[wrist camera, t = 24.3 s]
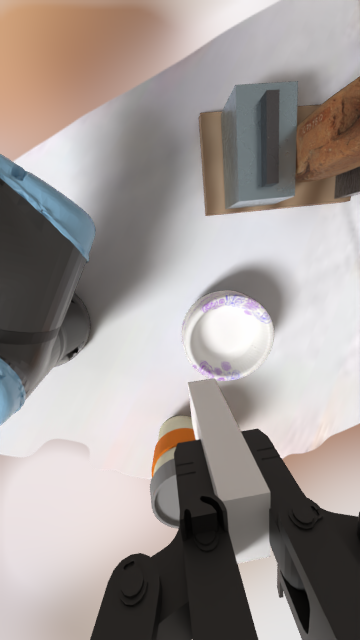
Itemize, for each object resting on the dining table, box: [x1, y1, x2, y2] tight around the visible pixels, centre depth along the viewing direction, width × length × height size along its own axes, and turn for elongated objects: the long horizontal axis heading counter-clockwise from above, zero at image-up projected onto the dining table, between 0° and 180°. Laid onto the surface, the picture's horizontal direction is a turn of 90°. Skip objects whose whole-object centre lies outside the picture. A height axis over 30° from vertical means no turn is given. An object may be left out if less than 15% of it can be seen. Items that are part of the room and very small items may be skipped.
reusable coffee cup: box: [150, 415, 196, 529], centre depth 46 cm, size 13×13×15 cm
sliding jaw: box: [221, 81, 298, 209], centre depth 34 cm, size 8×13×8 cm, turn 6°
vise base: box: [199, 105, 360, 216], centre depth 36 cm, size 25×14×8 cm, turn 96°
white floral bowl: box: [181, 290, 274, 381], centre depth 43 cm, size 15×15×8 cm
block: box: [295, 77, 360, 183], centre depth 30 cm, size 11×8×20 cm
